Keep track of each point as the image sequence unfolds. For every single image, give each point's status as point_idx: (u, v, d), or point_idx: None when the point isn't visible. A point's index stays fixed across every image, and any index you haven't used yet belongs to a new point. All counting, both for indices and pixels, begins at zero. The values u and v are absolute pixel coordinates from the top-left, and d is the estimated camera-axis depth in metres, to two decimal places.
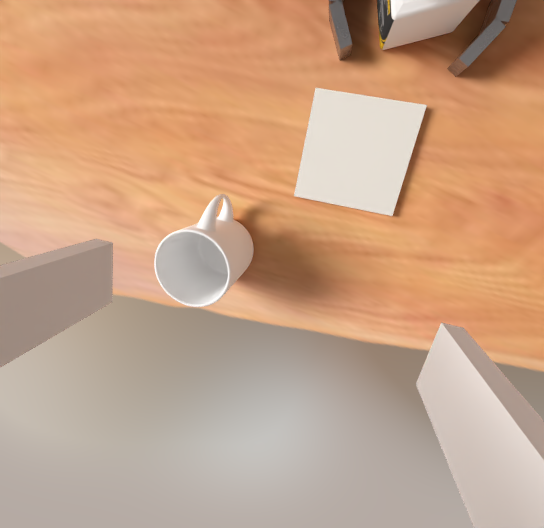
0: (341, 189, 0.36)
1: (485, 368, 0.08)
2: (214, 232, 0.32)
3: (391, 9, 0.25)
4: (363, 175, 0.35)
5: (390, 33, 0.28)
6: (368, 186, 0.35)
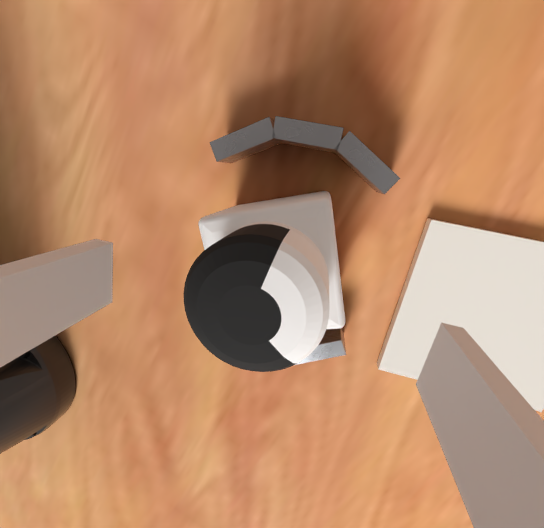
0: None
1: (485, 368, 0.08)
2: None
3: None
4: (531, 308, 0.20)
5: None
6: None
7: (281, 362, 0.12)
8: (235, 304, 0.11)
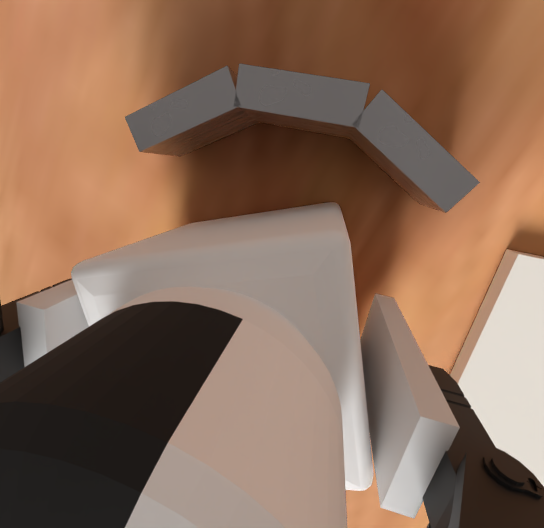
0: None
1: (395, 324, 0.10)
2: None
3: None
4: None
5: None
6: None
7: None
8: None
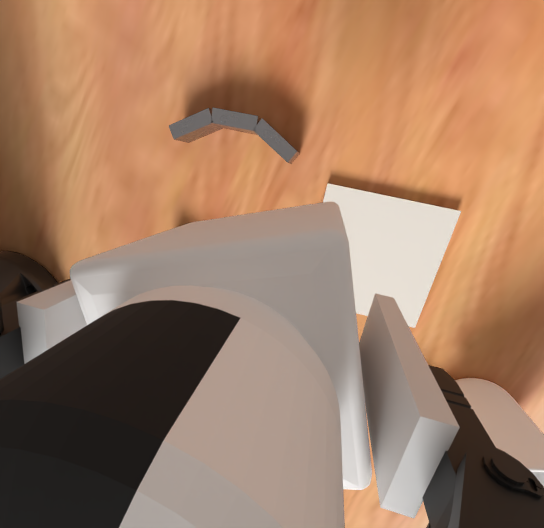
0: (414, 273, 0.29)
1: (395, 324, 0.10)
2: None
3: None
4: (399, 248, 0.28)
5: None
6: (415, 242, 0.28)
7: None
8: None
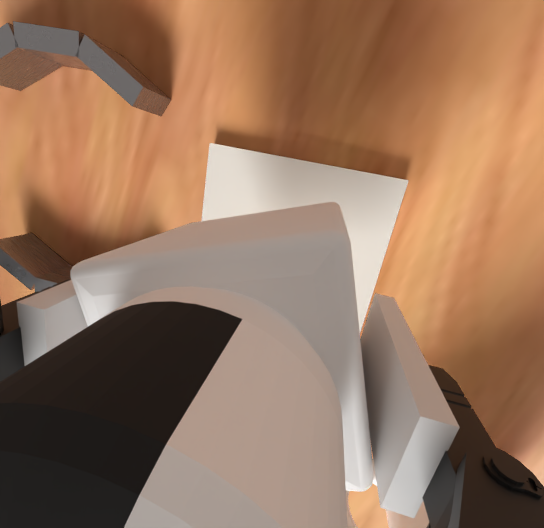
0: None
1: (395, 324, 0.10)
2: None
3: None
4: None
5: None
6: None
7: None
8: None
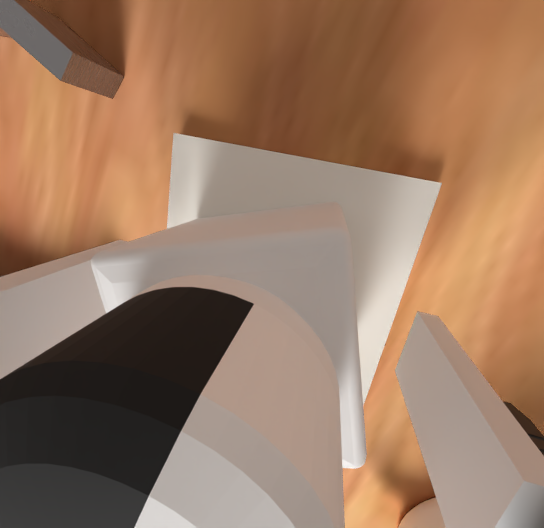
0: None
1: (452, 350, 0.09)
2: None
3: None
4: None
5: None
6: None
7: None
8: None
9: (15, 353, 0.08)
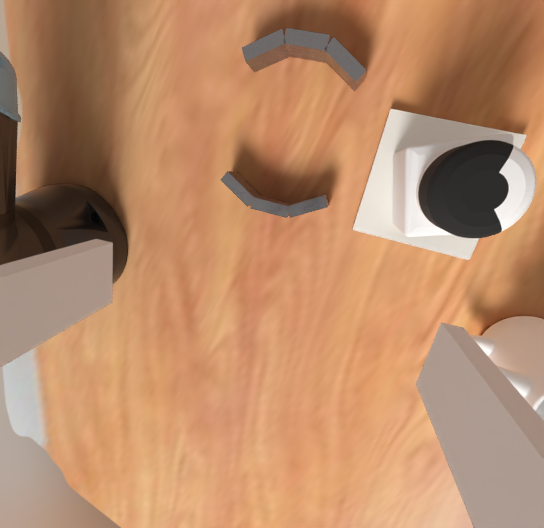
0: None
1: (485, 368, 0.08)
2: (533, 378, 0.24)
3: None
4: None
5: None
6: None
7: (495, 227, 0.19)
8: (477, 183, 0.18)
9: None
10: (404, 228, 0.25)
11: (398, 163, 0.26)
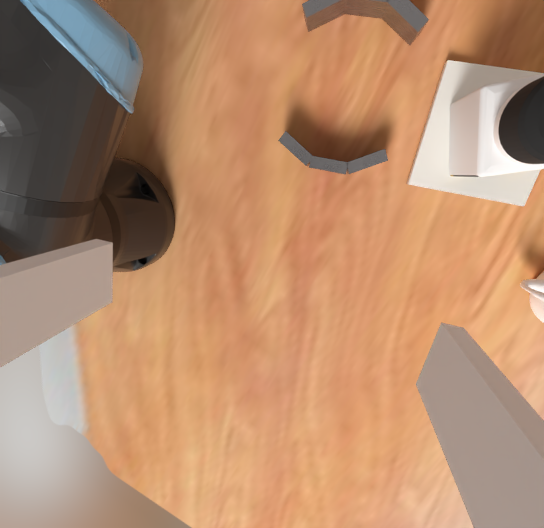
0: None
1: (485, 368, 0.08)
2: None
3: None
4: None
5: None
6: None
7: None
8: None
9: None
10: (476, 168, 0.26)
11: (463, 109, 0.27)
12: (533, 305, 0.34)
